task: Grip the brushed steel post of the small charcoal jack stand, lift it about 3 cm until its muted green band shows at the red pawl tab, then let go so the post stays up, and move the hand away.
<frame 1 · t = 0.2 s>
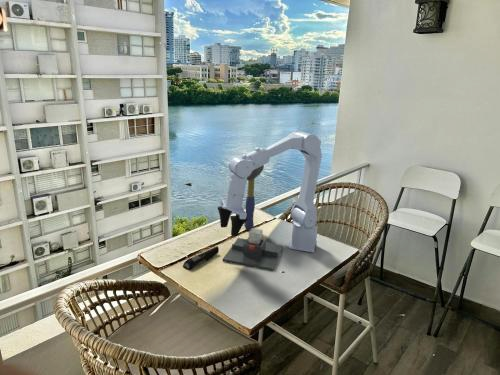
hand: (228, 231, 123), 10 cm above the table, tool pointing down, fingers open, 7 cm apart
electric trimmer: (201, 261, 124), on the table
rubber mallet: (248, 229, 152), on the table
column: (255, 241, 129), point 5 cm above the table, slide at 0.0 cm
stand base: (254, 254, 130), on the table
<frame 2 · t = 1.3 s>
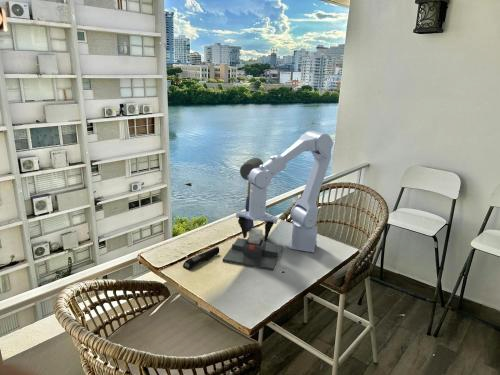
hand: (255, 238, 128), 6 cm above the table, tool pointing down, fingers open, 7 cm apart
nothing on the table moved.
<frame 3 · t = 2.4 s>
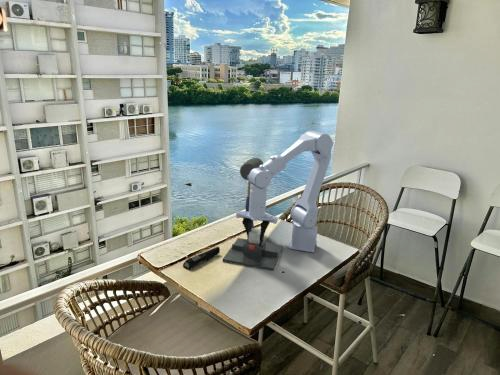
hand: (255, 238, 128), 6 cm above the table, tool pointing down, fingers closed on column, 4 cm apart
column: (255, 241, 129), point 5 cm above the table, slide at 0.0 cm, touching gripper
everything else where it was.
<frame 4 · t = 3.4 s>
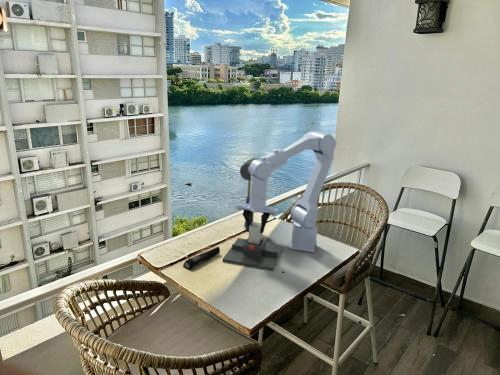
hand: (255, 231, 128), 9 cm above the table, tool pointing down, fingers closed on column, 4 cm apart
column: (255, 235, 128), point 8 cm above the table, slide at 2.4 cm, touching gripper
everything else where it was.
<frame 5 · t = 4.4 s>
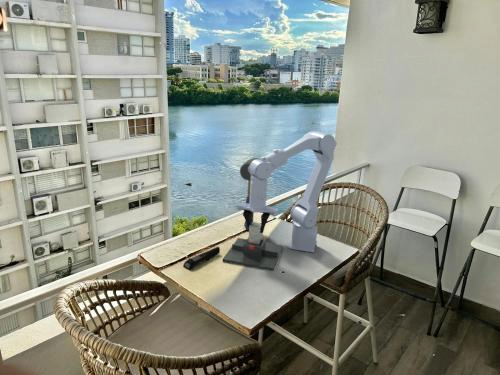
hand: (255, 231, 128), 9 cm above the table, tool pointing down, fingers closed on column, 4 cm apart
column: (255, 235, 128), point 8 cm above the table, slide at 2.4 cm, touching gripper
everything else where it was.
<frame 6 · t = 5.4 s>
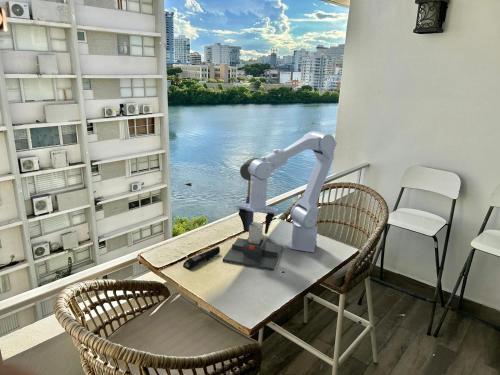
hand: (255, 231, 128), 9 cm above the table, tool pointing down, fingers open, 7 cm apart
column: (255, 235, 128), point 8 cm above the table, slide at 2.4 cm
everything else where it was.
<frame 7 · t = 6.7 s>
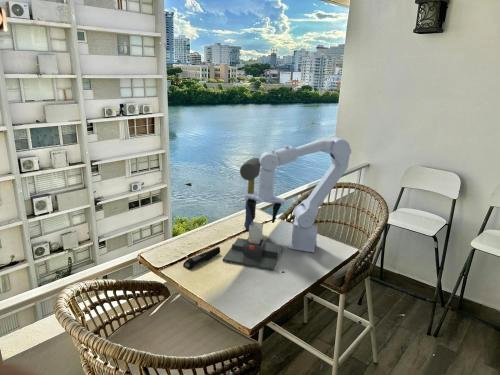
hand: (263, 220, 134), 10 cm above the table, tool pointing down, fingers open, 7 cm apart
nothing on the table moved.
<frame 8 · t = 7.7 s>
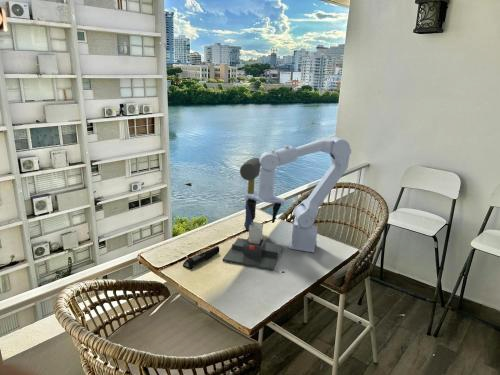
hand: (263, 220, 134), 10 cm above the table, tool pointing down, fingers open, 7 cm apart
nothing on the table moved.
at the end: column slide at 2.4 cm; the gripper is holding nothing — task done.
